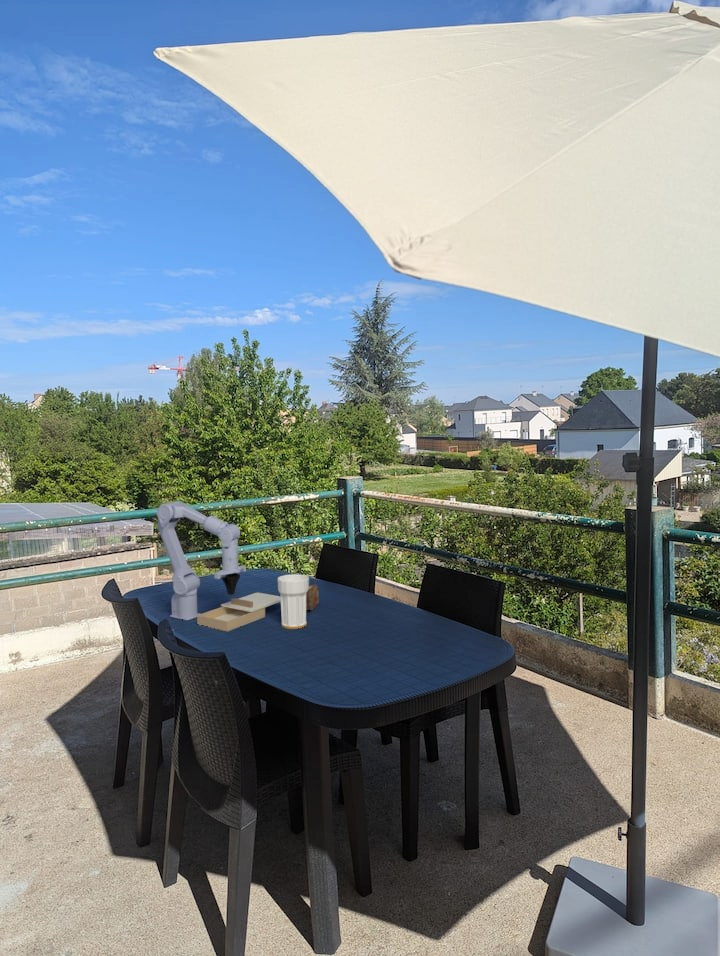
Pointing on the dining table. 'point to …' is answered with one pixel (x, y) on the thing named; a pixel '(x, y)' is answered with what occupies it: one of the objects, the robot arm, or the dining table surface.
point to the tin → (312, 597)
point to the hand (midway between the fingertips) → (231, 594)
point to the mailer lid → (252, 602)
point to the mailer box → (228, 618)
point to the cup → (293, 600)
